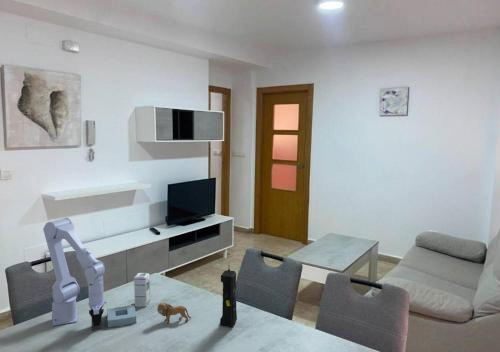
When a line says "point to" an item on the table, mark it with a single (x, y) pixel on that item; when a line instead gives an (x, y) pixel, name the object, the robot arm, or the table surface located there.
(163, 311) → the lion figurine
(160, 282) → the table surface
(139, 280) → the syrup box
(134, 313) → the socket plate
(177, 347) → the table surface
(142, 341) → the table surface
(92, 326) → the plug
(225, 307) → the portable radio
